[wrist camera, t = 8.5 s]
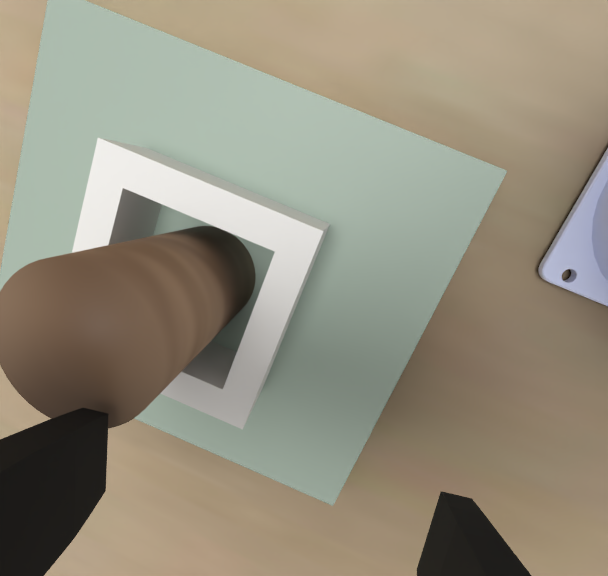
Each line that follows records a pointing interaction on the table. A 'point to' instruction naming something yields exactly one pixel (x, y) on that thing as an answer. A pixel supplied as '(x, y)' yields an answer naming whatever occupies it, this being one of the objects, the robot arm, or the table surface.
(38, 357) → the walnut peg
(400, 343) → the socket board
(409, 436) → the table surface
